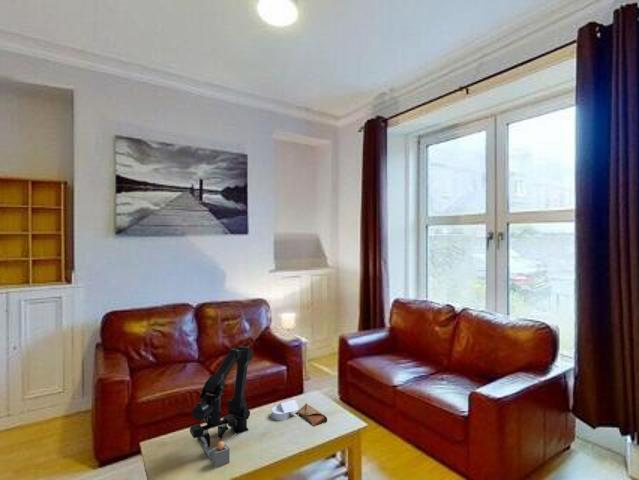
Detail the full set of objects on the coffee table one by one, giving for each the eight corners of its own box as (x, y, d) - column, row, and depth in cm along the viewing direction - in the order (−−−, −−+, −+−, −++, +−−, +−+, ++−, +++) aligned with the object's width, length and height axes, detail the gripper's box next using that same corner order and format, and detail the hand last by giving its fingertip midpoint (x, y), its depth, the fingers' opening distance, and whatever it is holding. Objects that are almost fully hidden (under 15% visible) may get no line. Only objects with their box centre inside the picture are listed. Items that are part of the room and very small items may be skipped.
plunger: (222, 447, 155) (222, 440, 155) (224, 450, 153) (224, 443, 153) (217, 449, 154) (217, 442, 153) (219, 452, 152) (219, 444, 152)
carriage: (218, 446, 164) (218, 431, 164) (223, 453, 160) (223, 437, 159) (203, 451, 161) (203, 436, 160) (208, 458, 156) (208, 442, 156)
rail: (207, 436, 173) (207, 432, 173) (223, 457, 157) (223, 452, 157) (197, 439, 170) (197, 435, 170) (212, 461, 154) (212, 457, 154)
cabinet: (225, 457, 157) (225, 443, 157) (229, 462, 154) (229, 448, 153) (211, 463, 153) (211, 448, 153) (215, 468, 150) (215, 453, 150)
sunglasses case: (293, 412, 196) (299, 400, 198) (303, 415, 200) (308, 403, 202) (314, 427, 182) (319, 413, 184) (323, 430, 186) (329, 417, 188)
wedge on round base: (291, 408, 201) (269, 414, 194) (291, 396, 201) (269, 401, 194) (299, 415, 193) (276, 422, 187) (299, 402, 193) (276, 408, 186)
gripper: (227, 396, 172) (227, 430, 172) (186, 407, 161) (185, 443, 161) (237, 406, 163) (236, 441, 163) (194, 418, 152) (193, 456, 152)
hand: (213, 445), depth 160 cm, fingers closed on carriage, 4 cm apart
